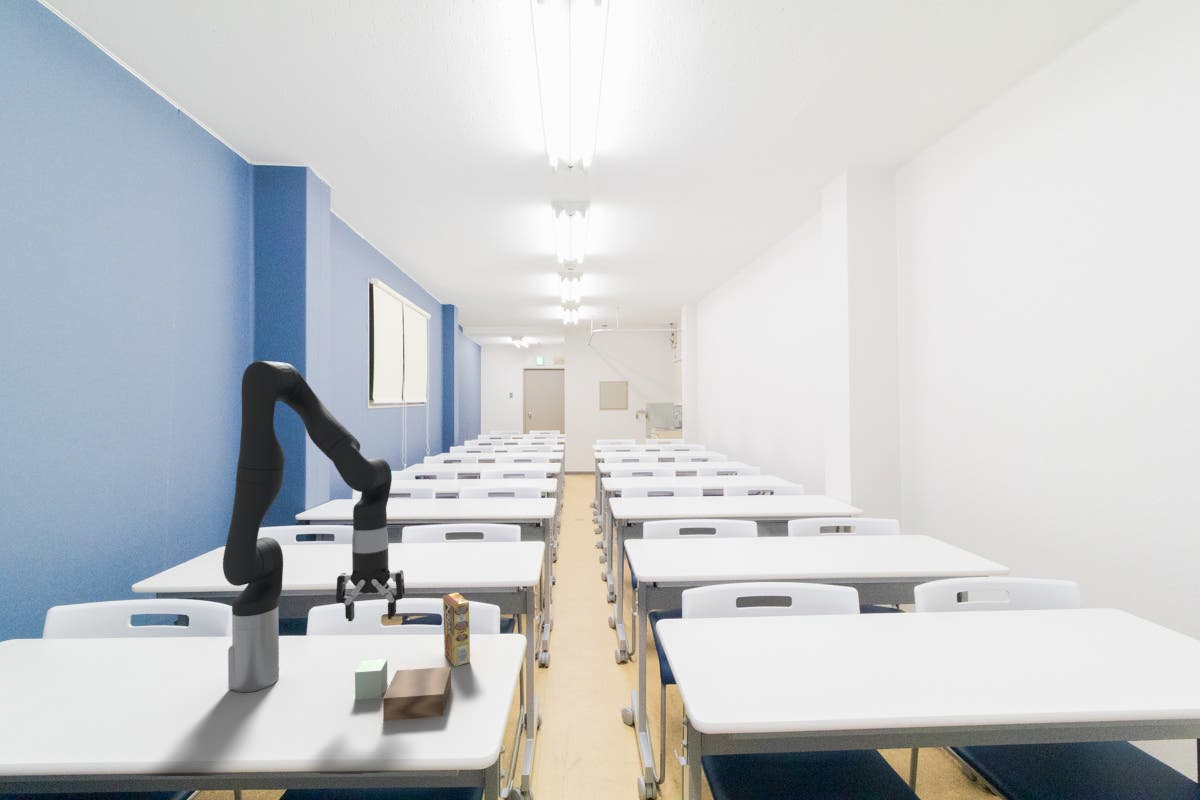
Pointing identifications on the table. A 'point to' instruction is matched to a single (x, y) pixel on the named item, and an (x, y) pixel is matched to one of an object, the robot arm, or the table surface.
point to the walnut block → (417, 694)
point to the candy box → (456, 629)
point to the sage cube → (371, 679)
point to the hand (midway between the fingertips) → (371, 619)
